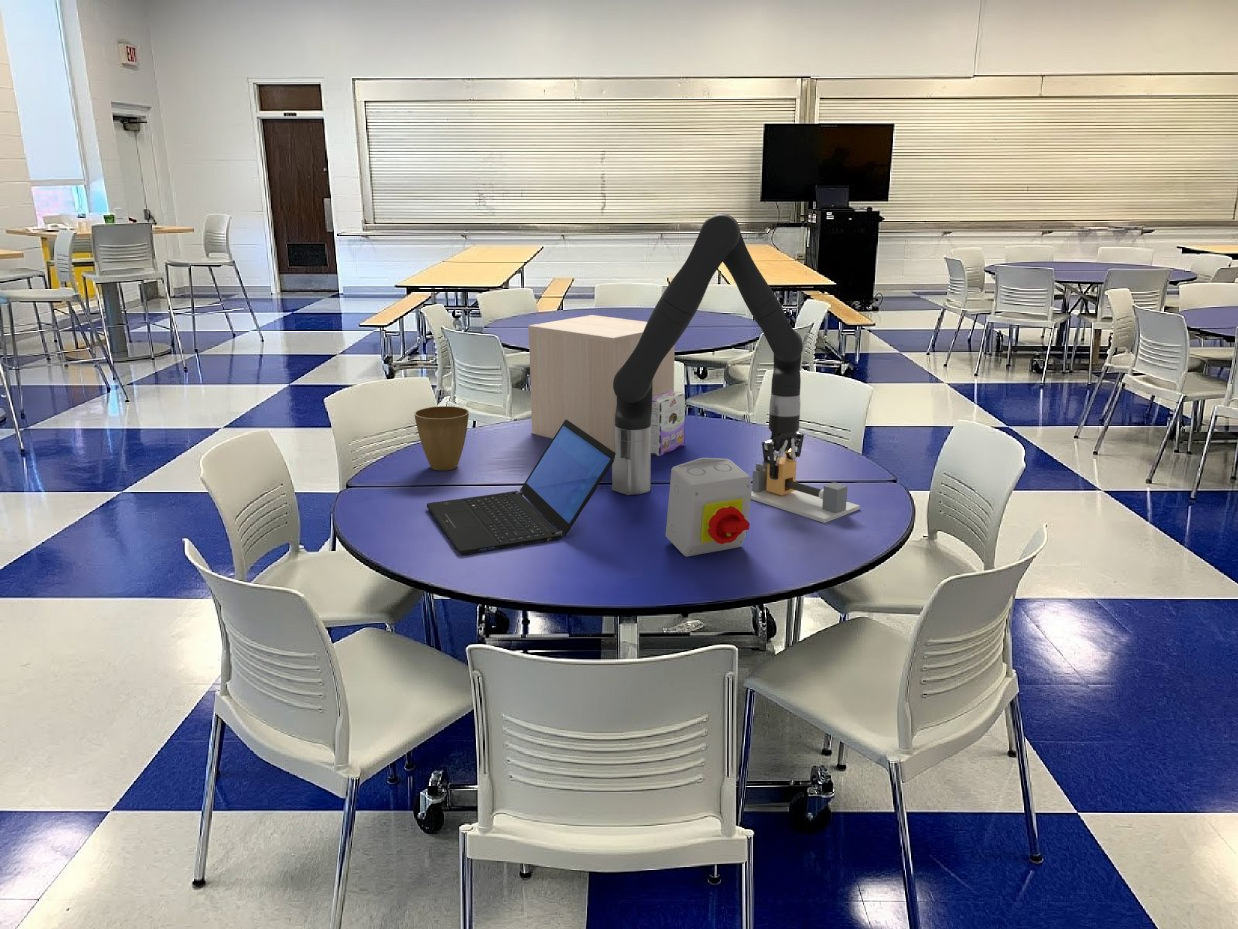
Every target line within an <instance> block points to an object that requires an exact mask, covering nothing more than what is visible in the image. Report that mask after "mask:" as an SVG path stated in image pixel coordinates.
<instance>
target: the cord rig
mask: <svg viewBox="0 0 1238 929" xmlns="http://www.w3.org/2000/svg"><path fill="white" fill-rule="evenodd" d="M767 465H768V464H767V463H764V460H763V461H762V463H758V462H756V463H755V469H753V470H752V481H751V491H752V493H751V500H752V501H756V502H758V503H762V504H765V505H767V506H770V507H774V508H777V509H780V510H783V511H786V512H789V513H793V514H796V515H799V516H801V517H805V518H807V519H811V520H814V521H817V522H819V523H820V522H821V523H823V524H826V523H828V522H830V521H831V522H832V521H833V520H836V519H839V518H841V517H843V516H844V517H845V516H846V515H849V514H851V513H853V512H856V511H858V510H860V508H861V507H860V506H861V505H860V504H855V503H852V502H848V501H847V497H848V488H849V486H847V485H845V484H840V483H839V482H836V481H835V482H830V483H828V484H825V485H823V488H822V489H821V488H819V487H818V488H817V487H815V486H810V485H807V484H805V483H800V482H797V481H795V482H794V481H791V480H787V479H785V487H786V488H790V489H793V490H795V491H793V492H790V493H787V494H784V495H779V494H776V493H772V492H769V491H766V487H767Z"/></svg>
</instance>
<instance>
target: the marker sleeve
mask: <svg viewBox="0 0 1238 929" xmlns="http://www.w3.org/2000/svg"><path fill="white" fill-rule="evenodd" d="M774 460H776V457H774ZM778 466H779V473H778V479H777V480H774V479H771V478H770V476H769V472H770V465H769V464H768V465H767V487H766V491H769V492H772V493H776V494H779V495H784V494H787V493H790V492H793V491H795V490H793V489H790V488H786V487H785V479H787V480H791V481H794V482H796V478H797V476H796V474H797V460H792V459H788V458H786V457H781V458H780V462H779V465H778Z"/></svg>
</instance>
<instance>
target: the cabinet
mask: <svg viewBox="0 0 1238 929" xmlns="http://www.w3.org/2000/svg"><path fill="white" fill-rule="evenodd" d="M647 322H648V321H643V320H635V319H627V318H626V319H625V318H621V317H619V318H618V317H610V316H604V315H603V316H602V315H595V314H589V315H584V316H577V317H571V318H566V319H565V318H564V319H561V320H560V319H559V320H554V321H548V322H547V321H546V322H542V323H536V324H529V325H527V330H528V345H529V346H528V347H529V348H528V350H529V352H528V353H529V372H530V373H529V377H530V378H529V379H530V403H531V404H530V408H531V409H530V411H531V430H530V431H531V434H533V435H537V436H541V437H545V438H549V439H553V438H554V436H555V435H556V433H557V432H558V430H559V429H560V427H561V426H562V424H563V422H564V421H565V419H567V420H568V421H570V422H571V423H573V424H574V425H575V426H577V427H578V428H580V429H581V430H583V431H584V432H586V433H587V434H589V435H590V436H592V437H593V438H595V439H596V440H597V441H599V442H600V443H602V444H603V445H605V446H606V447H608V448H609V449H611V450H612V451H613V452H615V413H616V406H617V396H616V395H615V392H614V389H613V380H614V377H615V375H616V373H617V372H618V371H619V369H620V368H621V367H622V366H623V365H624V364H625V362H626V361H627V360H628V358H629V357H630V355H631V354H632V352H633V351H634V349H635V348H636V346H637V344H638V342H639V340H640V338H641V336H642V333H643V331H644V329H645V326H646V324H647ZM652 381H653V391H652V397H654V396H657V395H660V394H663V393H666V392H668V391H673V392H675V345H674V346H673V347H672V349H671V350H670V351H669V352H668V354H667V355H666V356H665V358H664V359H663V361H662V362H661V364H660V366H659V367H658V369H657V371H656V373H655V376H654V378H653V380H652Z"/></svg>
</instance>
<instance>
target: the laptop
mask: <svg viewBox="0 0 1238 929" xmlns="http://www.w3.org/2000/svg"><path fill="white" fill-rule="evenodd" d="M615 455H616V453H615V452H613V451H612V450H611V449H609V448H608V447H606V446H605V445H603V444H602V443H600V442H599V441H597V440H596V439H595V438H593V437H592V436H590V435H589V434H587V433H586V432H584V431H583V430H581V429H580V428H578V427H577V426H575V425H574V424H573V423H571V422H570V421H568V420H567V419H565V421H564V422H563V424H562V426H561V427H560V429H559V430H558V432H557V433H556V435H555V436H554V438H551V441H550V442H549V444H548V445H547V447H546V449H545V450H544V452H543V453H542V455H541V456H540V458H539V459H538V462H536V464H535V465H534V467H533V469H532V470H531V472H530V473H529V475H528V477H527V478H526V480H525V481H524V483H523V484H522V486H521V488H520V489H519V491H518V490H511V491H504V492H497V493H493V494H492V493H491V494H485V495H479V496H472V497H471V496H470V497H464V498H457V499H449V500H440V501H433V502H428V503H426V508H427V509H428V511H429V512H430V513H431V514H432V516H433V518H434V519H435V521H436V522H437V524H438V525H439V526H440V529H441V530H442V531H443V533H444V534H445V535H446V536H447V538H448V539H449V542H450V543H451V544H452V545H453V547H454V548H455V551H457V552H458V553H459V554H460V555H471V554H478V553H485V552H490V551H494V550H500V549H506V548H512V547H518V546H519V547H520V546H526V545H532V544H537V543H543V542H544V543H545V542H547V543H549V542H550V543H551V542H552V541H556V540H559V539H562V537H563V536H565V537H566V536H567V534H569V531H570V530H571V528H572V527H573V525H574V523H575V522H576V521H577V519H578V518H579V516H580V515H581V513H582V511H583V510H584V508H585V507H586V506H587V504H588V502H589V501H590V499H591V498H592V496H593V495H594V493H595V491H596V490H597V489H598V487H599V485H600V484H601V482H602V481H603V479H604V478H605V476H606V474H607V473H608V472H609V470H610V468H612V464H613V462H614V459H615Z"/></svg>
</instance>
